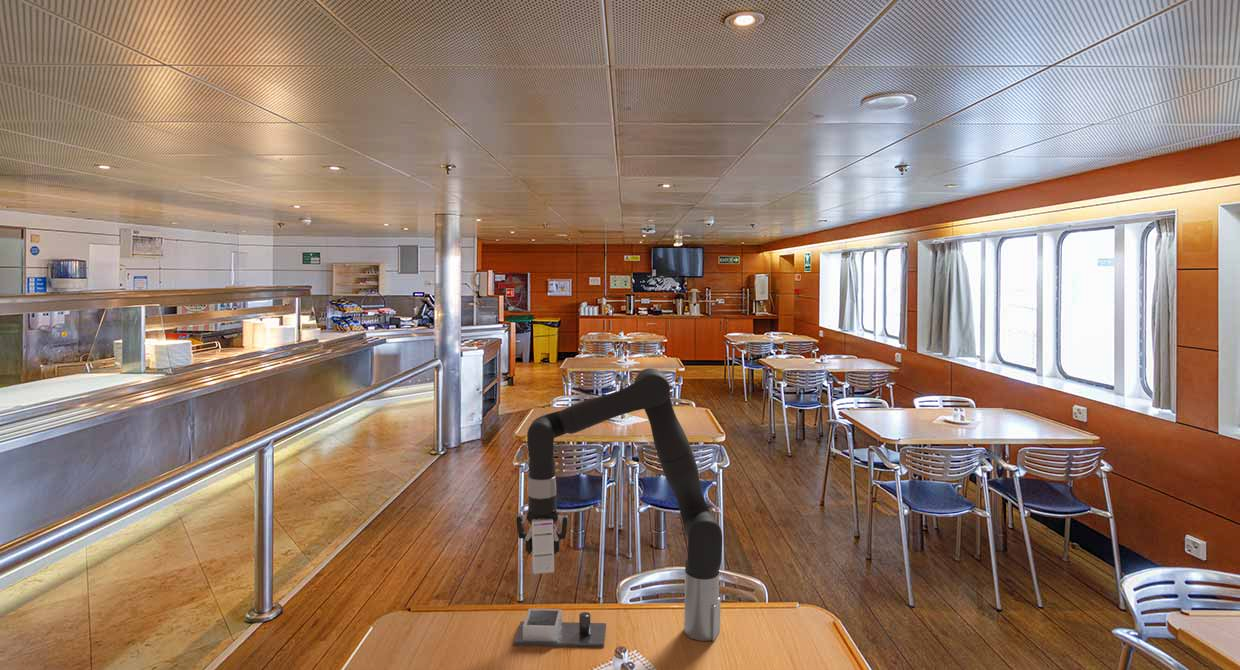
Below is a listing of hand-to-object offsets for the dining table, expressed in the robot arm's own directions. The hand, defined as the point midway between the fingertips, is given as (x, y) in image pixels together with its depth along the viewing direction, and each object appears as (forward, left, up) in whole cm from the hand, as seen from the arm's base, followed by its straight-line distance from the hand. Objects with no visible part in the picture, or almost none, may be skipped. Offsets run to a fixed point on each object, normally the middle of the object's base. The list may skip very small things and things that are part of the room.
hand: (542, 552), depth 169 cm
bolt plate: (-4, -2, -23) cm, 24 cm away
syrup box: (0, 0, -5) cm, 5 cm away
